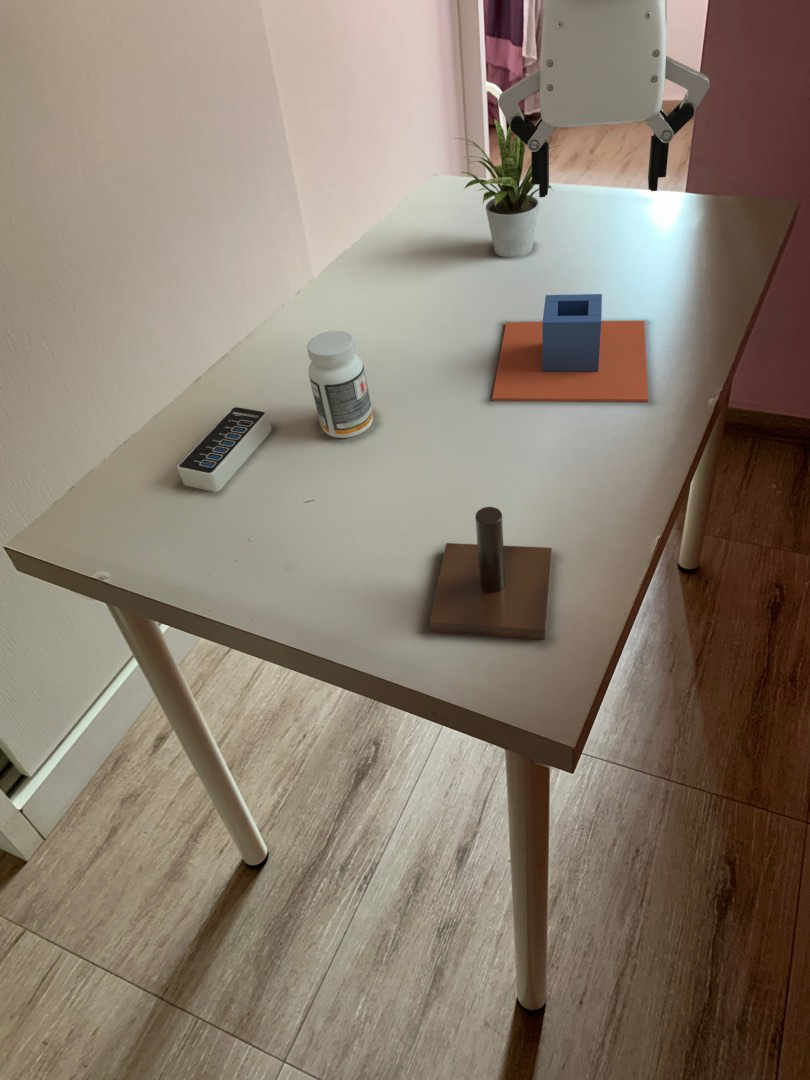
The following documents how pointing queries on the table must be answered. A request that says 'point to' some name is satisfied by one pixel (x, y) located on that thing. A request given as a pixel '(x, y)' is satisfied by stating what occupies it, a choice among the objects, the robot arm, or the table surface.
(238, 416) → the multiport hub
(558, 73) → the robot arm
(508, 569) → the dowel stand
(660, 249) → the table surface
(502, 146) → the house plant
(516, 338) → the mat
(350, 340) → the pill bottle
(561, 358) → the blue block
